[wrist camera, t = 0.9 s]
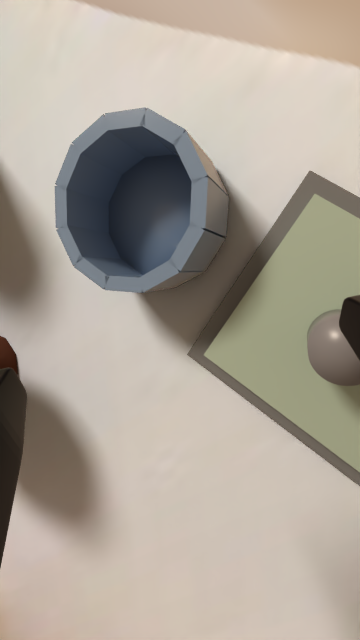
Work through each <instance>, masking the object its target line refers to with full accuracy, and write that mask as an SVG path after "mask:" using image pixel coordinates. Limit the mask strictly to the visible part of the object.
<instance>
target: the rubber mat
mask: <svg viewBox="0 0 360 640" xmlns="http://www.w3.org/2000/svg"><path fill="white" fill-rule="evenodd" d="M314 194H317V195H318V196H320V197H322V198H324V199H325V200H327V201H329V202H331V203H333V204H334V205H336V206H338V207H340V208H341V209H343V210H345V211H347V212H349V213H350V214H352V215H354V216H356V217H357V218H359V219H360V198H359V197H358V196H356V195H354V194H352V193H350V192H348V191H347V190H345V189H343V188H341V187H339V186H338V185H336V184H334V183H332V182H330V181H328V180H327V179H325V178H323V177H321V176H319V175H317V174H316V173H314V172H312V171H309V172H308V174H307V175H306V177H305V178H304V180H303V181H302V183H301V184H300V186H299V187H298V189H297V190H296V192H295V193H294V195H293V196H292V198H291V199H290V201H289V202H288V204H287V205H286V207H285V208H284V210H283V211H282V213H281V214H280V216H279V217H278V219H277V220H276V222H275V223H274V225H273V226H272V228H271V229H270V231H269V232H268V234H267V235H266V237H265V238H264V240H263V241H262V243H261V244H260V246H259V247H258V249H257V250H256V252H255V253H254V255H253V256H252V258H251V259H250V261H249V262H248V264H247V265H246V267H245V268H244V270H243V271H242V273H241V274H240V276H239V277H238V279H237V280H236V282H235V284H234V285H233V287H232V288H231V290H230V291H229V293H228V294H227V296H226V297H225V299H224V300H223V302H222V303H221V305H220V306H219V308H218V309H217V311H216V312H215V314H214V315H213V317H212V318H211V320H210V321H209V323H208V324H207V326H206V327H205V329H204V330H203V332H202V333H201V335H200V336H199V338H198V339H197V341H196V342H195V344H194V345H193V347H192V348H191V350H190V351H189V353H188V354H187V355H189V356H190V357H191V358H193V359H194V360H195V361H196V362H198V363H199V364H200V365H202V366H203V367H204V368H206V369H207V370H208V371H210V372H211V373H212V374H214V375H215V376H216V377H218V378H219V379H220V380H221V381H223V382H224V383H225V384H227V385H228V386H229V387H231V388H232V389H233V390H235V391H236V392H237V393H239V394H240V395H241V396H242V397H244V398H245V399H246V400H248V401H249V402H250V403H252V404H253V405H254V406H256V407H257V408H258V409H260V410H261V411H262V412H263V413H265V414H266V415H267V416H269V417H270V418H271V419H273V420H274V421H275V422H277V423H278V424H279V425H281V426H282V427H283V428H284V429H286V430H287V431H288V432H290V433H291V434H292V435H294V436H295V437H296V438H298V439H299V440H300V441H302V442H303V443H304V444H305V445H307V446H308V447H309V448H311V449H312V450H313V451H315V452H316V453H317V454H319V455H320V456H321V457H323V458H324V459H325V460H326V461H328V462H329V463H330V464H332V465H333V466H334V467H336V468H337V469H338V470H340V471H341V472H342V473H344V474H345V475H346V476H348V477H349V478H350V479H351V480H353V481H354V482H355V483H357V484H358V485H359V486H360V472H358V471H357V470H356V469H354V468H353V467H352V466H350V465H349V464H348V463H346V462H345V461H344V460H342V459H341V458H340V457H338V456H337V455H336V454H335V453H333V452H332V451H331V450H329V449H328V448H327V447H325V446H324V445H323V444H321V443H320V442H319V441H317V440H316V439H315V438H313V437H312V436H311V435H309V434H308V433H307V432H305V431H304V430H303V429H301V428H300V427H299V426H297V425H296V424H295V423H293V422H292V421H291V420H289V419H288V418H287V417H285V416H284V415H283V414H281V413H280V412H279V411H277V410H276V409H275V408H273V407H272V406H271V405H269V404H268V403H267V402H265V401H264V400H263V399H261V398H260V397H259V396H257V395H256V394H255V393H253V392H252V391H251V390H249V389H248V388H247V387H245V386H244V385H243V384H241V383H240V382H239V381H237V380H236V379H235V378H233V377H232V376H231V375H229V374H228V373H227V372H225V371H224V370H223V369H221V368H220V367H219V366H217V365H216V364H215V363H213V362H212V361H211V360H209V359H208V358H207V357H205V356H204V354H205V352H206V351H207V349H208V348H209V346H210V345H211V343H212V342H213V341H214V339H215V338H216V336H217V335H218V333H219V332H220V330H221V329H222V327H223V326H224V325H225V323H226V322H227V320H228V319H229V317H230V316H231V314H232V313H233V311H234V310H235V309H236V307H237V306H238V304H239V303H240V301H241V300H242V298H243V297H244V296H245V294H246V293H247V291H248V290H249V288H250V287H251V285H252V284H253V282H254V281H255V280H256V278H257V277H258V275H259V274H260V272H261V271H262V269H263V268H264V266H265V265H266V264H267V262H268V261H269V259H270V258H271V256H272V255H273V253H274V252H275V251H276V249H277V248H278V246H279V245H280V243H281V242H282V240H283V239H284V237H285V236H286V235H287V233H288V232H289V230H290V229H291V227H292V226H293V224H294V223H295V221H296V220H297V219H298V217H299V216H300V214H301V213H302V211H303V210H304V208H305V207H306V205H307V204H308V203H309V201H310V200H311V198H312V197H313V195H314Z"/></svg>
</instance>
